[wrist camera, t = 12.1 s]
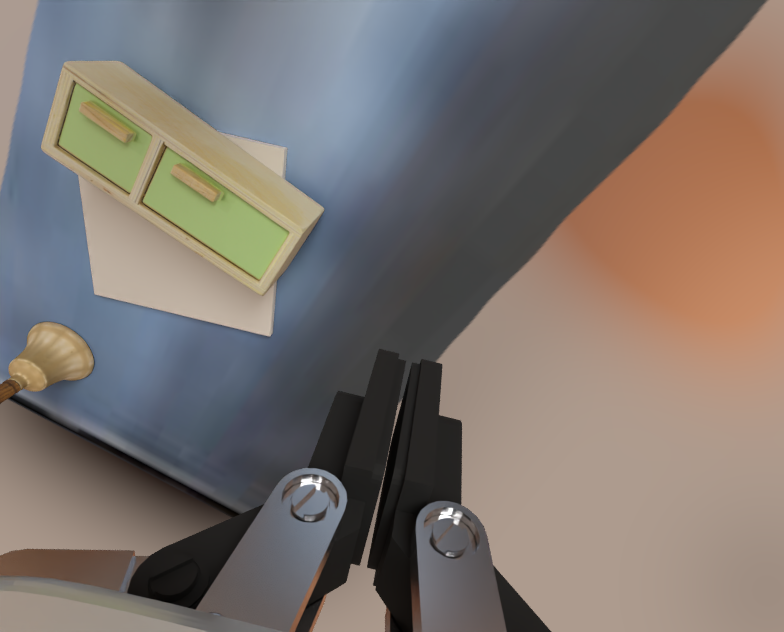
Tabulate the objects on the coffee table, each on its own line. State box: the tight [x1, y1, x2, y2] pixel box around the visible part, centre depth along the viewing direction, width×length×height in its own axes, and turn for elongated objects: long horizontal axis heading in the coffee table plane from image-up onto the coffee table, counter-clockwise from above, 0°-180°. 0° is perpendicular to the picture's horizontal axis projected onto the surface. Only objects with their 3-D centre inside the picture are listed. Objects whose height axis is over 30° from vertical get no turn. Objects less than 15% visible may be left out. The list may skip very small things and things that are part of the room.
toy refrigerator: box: [41, 61, 324, 296], centre depth 41 cm, size 8×7×21 cm
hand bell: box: [0, 322, 94, 404], centre depth 51 cm, size 8×8×16 cm
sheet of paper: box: [78, 132, 287, 336], centre depth 47 cm, size 20×20×1 cm
